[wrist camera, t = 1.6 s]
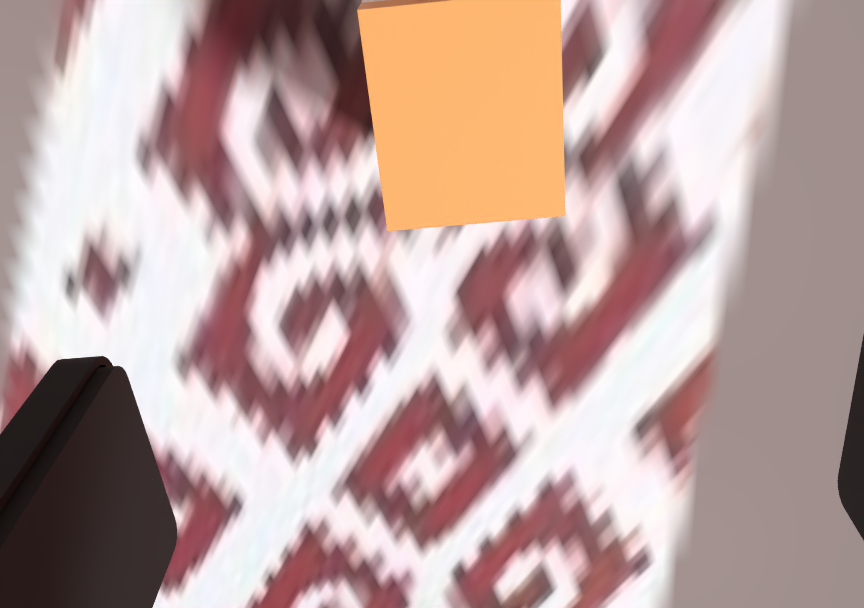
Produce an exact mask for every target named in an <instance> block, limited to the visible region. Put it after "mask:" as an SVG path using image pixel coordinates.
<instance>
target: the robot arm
mask: <svg viewBox="0 0 864 608" xmlns="http://www.w3.org/2000/svg"><path fill="white" fill-rule="evenodd" d="M838 490H839V495H840V499H841V502H842V504H843V506H844V508H845V510H846V512H847V513H848V515H849V517H850V518H851V520H852V522H853V523H854V525H855V527H856V528H857V530H858V532H859V533H860V535H861V537H862V538H863V540H864V336H863V342H862V347H861V353H860V358H859V364H858V369H857V375H856V380H855V385H854V391H853V396H852V402H851V408H850V413H849V419H848V425H847V430H846V435H845V441H844V446H843V452H842V457H841V463H840V469H839V474H838ZM176 540H177V526H176V521H175V517H174V514H173V511H172V508H171V505H170V502H169V499H168V496H167V493H166V490H165V487H164V484H163V481H162V478H161V475H160V472H159V469H158V466H157V463H156V460H155V457H154V454H153V451H152V448H151V445H150V442H149V439H148V436H147V433H146V430H145V427H144V424H143V421H142V418H141V415H140V412H139V409H138V406H137V403H136V400H135V397H134V394H133V391H132V388H131V385H130V382H129V379H128V376H127V374H126V372H125V370H124V369H123V368H122V367H120V366H113V365H112V363H111V362H110V361H109V360H108V358H106V357H104V356H98V357H85V358H72V359H61V360H57V361H56V362H55V363H54V364H53V365H52V366H51V368H50V369H49V370H48V372H47V373H46V374H45V376H44V377H43V378H42V380H41V381H40V382H39V384H38V385H37V386H36V388H35V389H34V390H33V392H32V393H31V394H30V396H29V397H28V398H27V400H26V401H25V402H24V404H23V405H22V406H21V408H20V409H19V410H18V412H17V413H16V414H15V416H14V417H13V418H12V420H11V421H10V422H9V424H8V425H7V426H6V428H5V429H4V430H3V432H2V433H1V434H0V608H152V607H153V605H154V602H155V599H156V597H157V594H158V591H159V589H160V586H161V584H162V581H163V578H164V576H165V573H166V571H167V568H168V565H169V563H170V560H171V557H172V555H173V552H174V549H175V546H176Z"/></svg>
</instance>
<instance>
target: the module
mask: <svg viewBox="0 0 864 608" xmlns="http://www.w3.org/2000/svg"><path fill="white" fill-rule="evenodd" d="M357 12H358V19H359V26H360V34H361V41H362V48H363V56H364V63H365V70H366V77H367V85H368V92H369V99H370V107H371V114H372V121H373V129H374V136H375V143H376V151H377V158H378V165H379V173H380V180H381V187H382V194H383V202H384V209H385V216H386V224H387V231H394V230H406V229H418V228H429V227H441V226H453V225H465V224H476V223H488V222H500V221H511V220H523V219H535V218H546V217H558V216H565V180H564V135H563V90H562V45H561V0H362V2H361V4H360V6H359V8H358V10H357Z"/></svg>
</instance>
